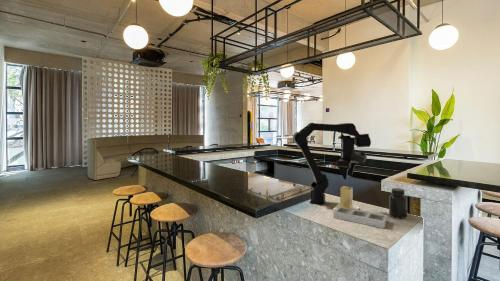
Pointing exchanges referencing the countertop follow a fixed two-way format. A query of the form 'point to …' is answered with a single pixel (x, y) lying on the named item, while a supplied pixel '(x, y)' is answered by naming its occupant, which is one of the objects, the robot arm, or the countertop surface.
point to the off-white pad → (352, 207)
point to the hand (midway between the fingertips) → (348, 177)
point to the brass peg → (346, 197)
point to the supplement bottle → (398, 204)
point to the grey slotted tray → (360, 217)
